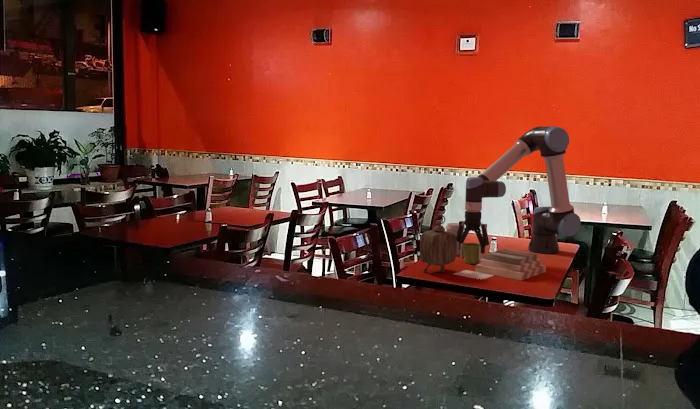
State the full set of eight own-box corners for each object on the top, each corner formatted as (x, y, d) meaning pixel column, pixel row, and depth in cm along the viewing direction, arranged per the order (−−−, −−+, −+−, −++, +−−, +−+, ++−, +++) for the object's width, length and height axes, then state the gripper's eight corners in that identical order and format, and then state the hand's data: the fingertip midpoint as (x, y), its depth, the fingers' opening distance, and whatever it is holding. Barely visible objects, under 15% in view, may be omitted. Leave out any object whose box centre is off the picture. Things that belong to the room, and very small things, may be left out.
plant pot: (457, 262, 291) (457, 244, 290) (468, 259, 298) (468, 241, 297) (474, 266, 285) (475, 247, 284) (485, 262, 292) (486, 244, 291)
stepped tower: (501, 264, 290) (501, 247, 289) (545, 272, 275) (546, 254, 274) (475, 271, 274) (475, 253, 273) (520, 280, 259) (521, 261, 258)
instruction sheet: (466, 270, 276) (466, 269, 276) (494, 275, 266) (494, 275, 266) (453, 274, 269) (453, 273, 269) (481, 279, 259) (481, 279, 259)
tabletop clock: (442, 267, 281) (444, 212, 278) (457, 271, 274) (459, 215, 270) (419, 271, 272) (420, 215, 269) (433, 276, 265) (435, 217, 262)
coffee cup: (442, 255, 308) (443, 225, 307) (447, 251, 317) (447, 222, 315) (461, 256, 305) (462, 226, 303) (465, 253, 314) (466, 223, 312)
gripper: (448, 209, 293) (447, 256, 296) (489, 214, 278) (487, 263, 281) (457, 207, 299) (456, 253, 301) (498, 212, 284) (496, 261, 286)
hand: (471, 258), depth 291 cm, fingers closed on plant pot, 9 cm apart
